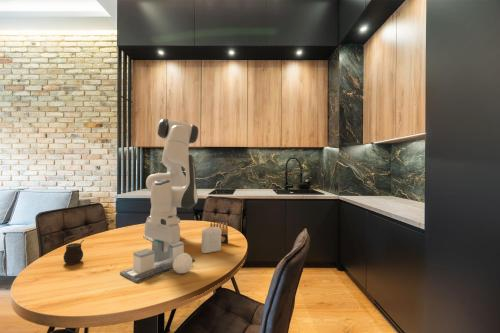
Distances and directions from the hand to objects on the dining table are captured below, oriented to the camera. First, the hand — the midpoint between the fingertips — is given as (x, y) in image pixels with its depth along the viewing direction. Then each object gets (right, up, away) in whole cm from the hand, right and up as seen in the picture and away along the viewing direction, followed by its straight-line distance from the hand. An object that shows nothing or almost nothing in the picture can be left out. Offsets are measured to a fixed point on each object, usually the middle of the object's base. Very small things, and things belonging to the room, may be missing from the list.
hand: (161, 250), depth 108 cm
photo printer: (+18, -8, +21) cm, 29 cm away
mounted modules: (0, -6, 0) cm, 6 cm away
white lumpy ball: (+11, -8, -5) cm, 14 cm away
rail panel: (0, -7, 0) cm, 7 cm away
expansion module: (0, -4, 0) cm, 4 cm away
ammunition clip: (+20, -8, +36) cm, 42 cm away
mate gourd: (-40, -7, +4) cm, 41 cm away
